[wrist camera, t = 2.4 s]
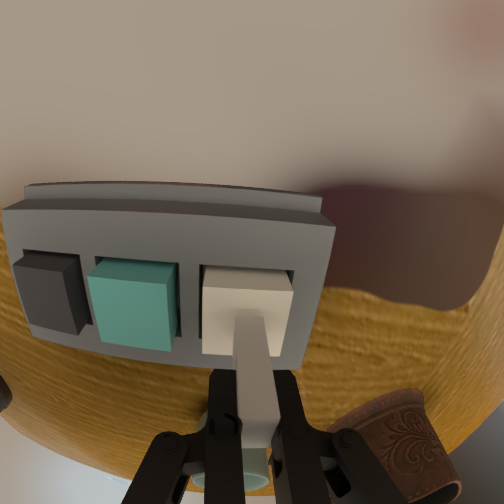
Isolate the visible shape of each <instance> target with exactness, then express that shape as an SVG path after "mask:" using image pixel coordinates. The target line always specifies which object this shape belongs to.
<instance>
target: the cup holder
mask: <svg viewBox="0 0 504 504" xmlns="http://www.w3.org/2000/svg"><path fill="white" fill-rule="evenodd" d="M423 404H424V396H423V393H422V392H421V391H420V390H418V389H410V388H408V389H402V390H397V391H394V392H391V393H388V394H385V395H382V396H380V397H378V398H375V399H373V400H371V401H369V402H366V403H365V404H363V405H361V406H359V407H357V408H356V409H354V410H352V411H350V412H349V413H347V414H346V415H344V416H343V417H342V418H340V419H339V420H337V421H336V422H335V423H334V424H333V425H332V426H331V427H329V428H328V430H327V431H326V432H331V433H335V432H336V431H338V430H340V429H343V428H351V429H354V430H356V431H357V432H358V433H359V434H360V435H361V436H362V437H363V439H364V440H365V442H366V443H367V445H368V446H369V447H370V449H371V450H372V452H373V453H374V455H375V456H376V457H377V459H378V460H379V462H380V463H381V465H382V466H383V467H384V469H385V470H386V472H387V473H388V474H389V476H390V477H391V479H392V480H393V482H394V483H395V484H396V486H397V487H398V489H399V490H400V491H401V493H402V494H403V496H404V497H405V498H406V500H407V501H408V503H409V504H448V503H450V502H452V501H453V500H455V499H456V498H457V496H458V495H459V494H460V492H461V489H462V485H461V482H460V479H459V477H458V475H457V473H456V471H455V469H454V467H453V465H452V463H451V461H450V459H449V457H448V455H447V453H446V451H445V449H444V447H443V445H442V443H441V442H440V440H439V438H438V436H437V434H436V432H435V430H434V429H433V427H432V425H431V423H430V421H429V420H428V418H427V416H426V414H425V409H424V407H423ZM330 500H331V504H334V502H333V500H332V498H331V496H330Z"/></svg>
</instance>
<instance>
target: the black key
mask: <svg viewBox="0 0 504 504" xmlns="http://www.w3.org/2000/svg"><path fill="white" fill-rule="evenodd" d="M12 267H13V271H14V275H15V279H16V283H17V286H18V290H19V293H20V297H21V300H22V303H23V306H24V309H25V312H26V315H27V318H28V321H29V323H30V324H32V325H36V326H39V327H43V328H47V329H51V330H55V331H59V332H63V333H67V334H72V335H76V336H79V334H80V332H81V331H82V329H83V328H84V326H85V325H86V323H87V322H88V320H89V319H90V317H91V312H90V308H89V304H88V299H87V294H86V289H85V284H84V279H83V273H82V267H81V261H80V254H69V253H59V252H49V251H39V250H32V251H30V252H29V253H27V254H26V255H25V256H23V257H22V258H21V259H19V260H18V261H16V262H15V263H14V264H13V265H12Z"/></svg>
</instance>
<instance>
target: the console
mask: <svg viewBox="0 0 504 504" xmlns="http://www.w3.org/2000/svg"><path fill="white" fill-rule="evenodd" d="M24 195H25V200H22V201H20V202H18V203H15V204H13V205H11V206H8V207H6V208H4V209H2V210H1V217H2V224H3V231H4V237H5V242H6V248H7V253H8V257H9V262H10V266H11V270H12V274H13V278H14V282H15V286H16V289H17V293H18V296H19V299H20V302H21V305H22V308H23V311H24V314H25V317H26V320H27V323H28V325H29V328H30V331H31V333H32V336H33V337H36V338H39V339H42V340H46V341H49V342H53V343H57V344H60V345H64V346H68V347H72V348H77V349H81V350H85V351H90V352H94V353H99V354H104V355H109V356H115V357H120V358H126V359H132V360H139V361H146V362H153V363H161V364H169V365H178V366H188V367H200V368H215V369H233V355H215V354H202V296H203V282H204V277H205V271H206V266H207V265H217V266H232V267H247V268H263V269H280V270H285V271H286V273H287V276H288V278H289V281H290V284H291V286H292V289H293V291H294V293H293V298H292V302H291V307H290V312H289V317H288V321H287V326H286V331H285V335H284V340H283V344H282V348H281V353H280V356H270V359H271V365H272V370H300V367H301V364H302V360H303V357H304V354H305V351H306V347H307V344H308V340H309V337H310V333H311V330H312V326H313V323H314V319H315V315H316V312H317V308H318V304H319V300H320V296H321V292H322V288H323V284H324V279H325V275H326V271H327V267H328V263H329V258H330V253H331V249H332V244H333V239H334V234H335V230H336V227H335V226H334V225H333V224H332V223H331V222H330V221H329V220H328V219H326V218H325V217H324V216H323V215H322V214H320V209H321V203H322V197H320V196H319V195H316V194H309V193H308V194H307V193H301V192H292V191H283V190H274V189H264V188H254V187H242V186H229V185H214V184H198V183H179V182H150V181H149V182H147V181H85V182H57V183H39V184H30V185H28V186H24ZM32 250H39V251H49V252H59V253H69V254H80V261H81V267H82V273H83V279H84V284H85V289H86V294H87V299H88V304H89V308H90V312H91V317H90V319H89V320H88V322H87V323H86V325H85V326H84V328H83V329H82V331H81V332H80V334H79V336H76V335H72V334H67V333H63V332H59V331H55V330H51V329H47V328H43V327H39V326H36V325H32V324H30V323H29V321H28V318H27V315H26V312H25V309H24V306H23V303H22V300H21V297H20V293H19V290H18V286H17V283H16V279H15V275H14V271H13V267H12V265H13V264H14V263H15V262H16V261H18V260H19V259H21V258H22V257H23V256H25V255H26V254H27V253H29V252H30V251H32ZM105 257H114V258H125V259H137V260H150V261H163V262H176V287H177V313H178V326H177V330H176V335H175V339H174V343H173V347H172V351H171V352H170V351H161V350H153V349H145V348H138V347H131V346H125V345H119V344H113V343H107V342H102V341H101V337H100V333H99V330H98V326H97V322H96V318H95V313H94V309H93V304H92V300H91V295H90V290H89V284H88V279H87V276H88V275H89V273H90V272H91V271H92V270H93V269H94V268H95V267H96V266H97V265H98V264H99V263H100V262H101V261H102V260H103V259H104V258H105Z"/></svg>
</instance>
